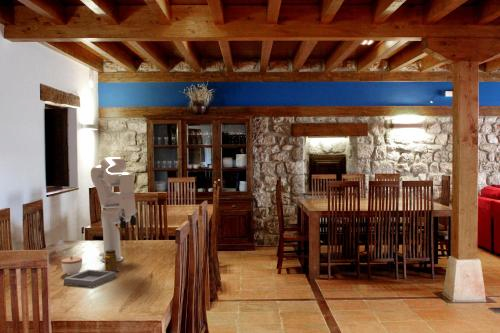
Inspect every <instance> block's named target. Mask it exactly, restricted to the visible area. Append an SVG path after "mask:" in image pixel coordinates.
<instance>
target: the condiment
mask: <svg viewBox="0 0 500 333" xmlns="http://www.w3.org/2000/svg"><path fill="white" fill-rule="evenodd" d="M105 253H106V254H105V255H106V256H105V262H104V266H105V267H104V268H105V270H104V271H111V272H116V274H118V273H120V272H122V270H120V269H118V266H117V264H118V263H117V262H118V261H117V259H116V255H115V254H116V253H115V250H107V251H106V252H105Z"/></svg>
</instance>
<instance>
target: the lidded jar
mask: <svg viewBox="0 0 500 333" xmlns="http://www.w3.org/2000/svg"><path fill="white" fill-rule="evenodd" d="M60 262H61V270H62V271H63V273H65V274H66V275H67V276H72V275H74V274H77V273H80V272H81V270H82V268H83V258H82V257H78V256H77V257H76V256H75V257H73V256H70V257H67V258H63V259H61V261H60Z"/></svg>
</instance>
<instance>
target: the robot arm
mask: <svg viewBox="0 0 500 333" xmlns="http://www.w3.org/2000/svg"><path fill="white" fill-rule="evenodd" d="M125 170H126V161H125V159H124V158H123V157H119V156H118V157H105V158H103V159H102V160H101V161H100V165H96V166H93V167H92V168H91V170H90V178H91V181H92V184H93V186H94V187H95V189H96V191H97V196H98V200H99V203H100V207H101V208H103V210H102V211H101V213H100V220H101V223H102V234H103V235H102V236H103V252H102V251H101V252H100V253H99V255H98V256H99V257H102V258H101V262H103V263H105V256H106V255H105V254H106V253H105V252H106V251H107V250H115V253H116V254H115V255H116V259H117V262H120V261H123V259H124V257H123V256H122V255H121V238H120V235H121V234H120V229H127V223H128V222H130V226H137V215H138V208H136V200H135V177H134V174H133V173H130V172H124V171H125ZM112 187H119V191H118V192H117V191H116V192H113V190H112ZM117 224H120V229H119V228H118V226H117Z"/></svg>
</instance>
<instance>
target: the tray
mask: <svg viewBox="0 0 500 333" xmlns="http://www.w3.org/2000/svg"><path fill="white" fill-rule="evenodd" d="M116 278H117V273H116V272H111V271H106V270H100V269H99V270H97V269H88V268H87V269H86V270H82V271H79V272H78V273H77V274H74V275H68V276H66V277H64V278H63V285H66V284H72V285H71V286H75V285H82V286H81V287H85V286H91V287H90V288H95V287H97V286H100V285H102V284H105V283H106V282H108V281H111V280H113V279H116ZM99 284H100V285H99ZM96 285H97V286H96ZM94 286H95V287H94Z"/></svg>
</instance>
